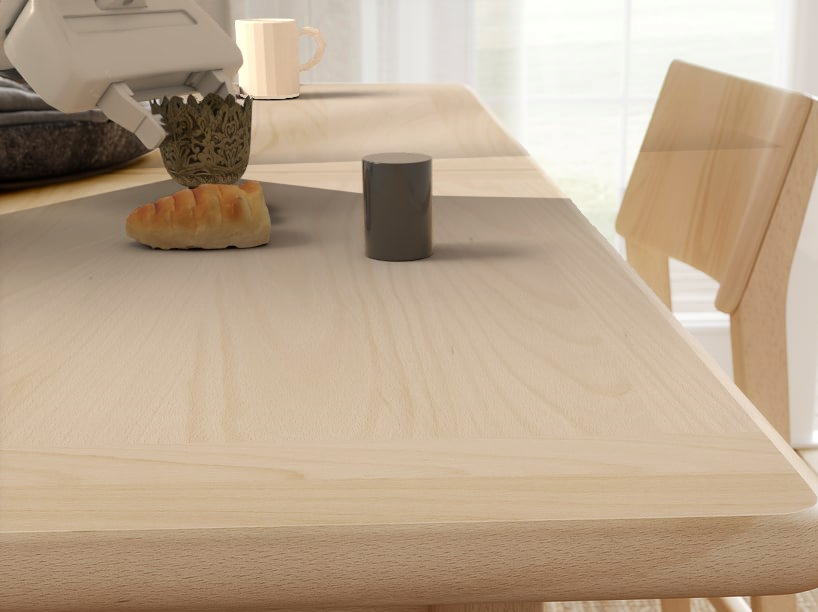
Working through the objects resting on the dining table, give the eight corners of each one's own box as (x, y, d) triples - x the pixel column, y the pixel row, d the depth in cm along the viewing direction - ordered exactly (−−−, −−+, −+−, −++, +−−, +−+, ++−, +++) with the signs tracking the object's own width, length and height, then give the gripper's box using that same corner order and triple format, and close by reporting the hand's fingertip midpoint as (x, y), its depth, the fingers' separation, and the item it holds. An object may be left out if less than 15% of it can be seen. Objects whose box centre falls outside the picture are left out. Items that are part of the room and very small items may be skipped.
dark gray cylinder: (358, 260, 73) (355, 162, 71) (370, 244, 77) (368, 151, 75) (428, 261, 73) (427, 164, 71) (436, 246, 77) (436, 152, 75)
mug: (331, 98, 157) (329, 20, 153) (241, 100, 155) (236, 21, 151) (325, 92, 164) (322, 18, 160) (239, 94, 162) (234, 18, 158)
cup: (140, 207, 89) (129, 97, 86) (219, 193, 94) (211, 89, 91) (199, 220, 84) (189, 105, 81) (279, 205, 89) (272, 96, 86)
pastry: (131, 257, 74) (125, 196, 72) (123, 236, 80) (117, 179, 78) (278, 246, 77) (275, 187, 75) (260, 226, 83) (257, 171, 81)
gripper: (150, 17, 97) (257, 145, 97) (-39, 28, 80) (91, 184, 80) (190, -41, 94) (301, 91, 94) (1, -43, 77) (137, 120, 77)
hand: (203, 134), depth 87 cm, fingers open, 8 cm apart
